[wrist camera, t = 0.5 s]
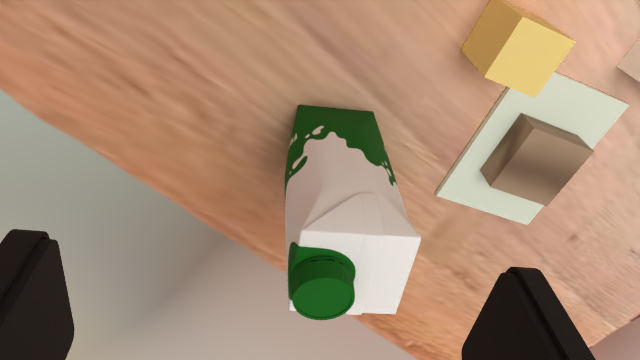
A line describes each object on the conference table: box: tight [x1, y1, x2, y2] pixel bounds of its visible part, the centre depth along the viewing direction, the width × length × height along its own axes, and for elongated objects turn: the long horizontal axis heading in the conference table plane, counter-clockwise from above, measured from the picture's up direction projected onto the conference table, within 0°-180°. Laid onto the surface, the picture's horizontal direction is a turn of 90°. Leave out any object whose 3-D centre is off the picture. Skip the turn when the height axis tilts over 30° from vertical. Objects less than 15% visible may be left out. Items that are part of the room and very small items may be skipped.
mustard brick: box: [461, 0, 576, 98], centre depth 39 cm, size 5×5×6 cm
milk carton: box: [285, 105, 421, 320], centre depth 38 cm, size 9×9×20 cm
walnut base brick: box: [480, 113, 594, 206], centre depth 47 cm, size 7×7×3 cm
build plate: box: [435, 71, 629, 225], centre depth 48 cm, size 16×12×1 cm
